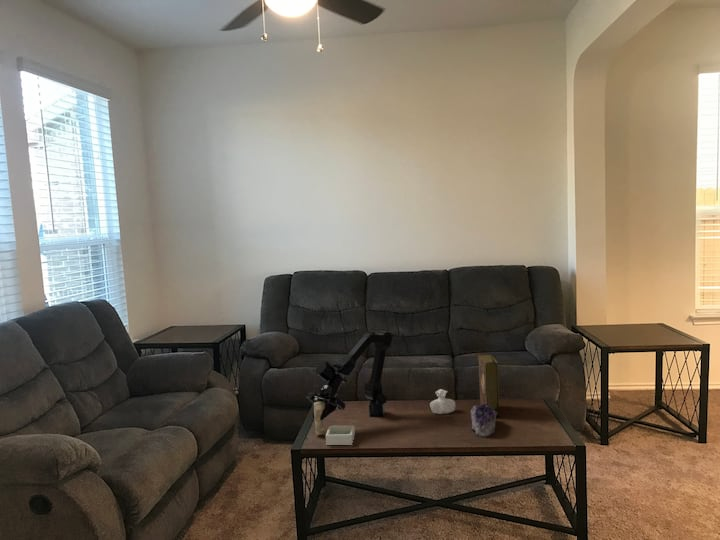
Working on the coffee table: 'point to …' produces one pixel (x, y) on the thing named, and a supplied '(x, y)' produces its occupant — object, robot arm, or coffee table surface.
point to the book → (489, 382)
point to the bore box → (340, 435)
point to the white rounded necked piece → (442, 403)
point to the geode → (483, 420)
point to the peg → (317, 414)
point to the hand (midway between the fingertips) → (316, 418)
